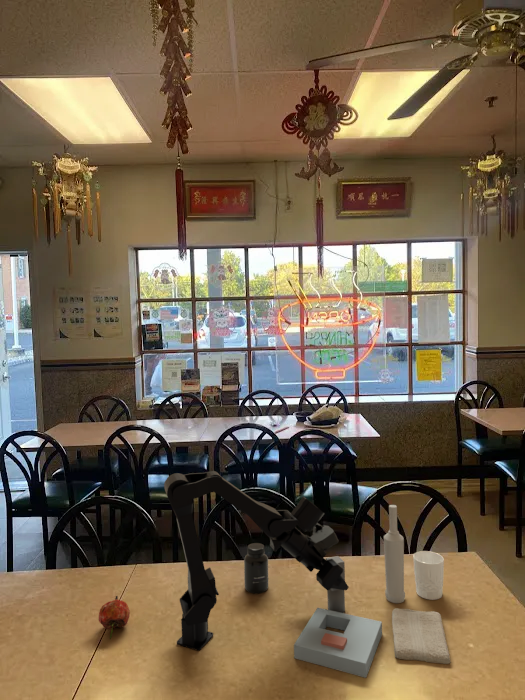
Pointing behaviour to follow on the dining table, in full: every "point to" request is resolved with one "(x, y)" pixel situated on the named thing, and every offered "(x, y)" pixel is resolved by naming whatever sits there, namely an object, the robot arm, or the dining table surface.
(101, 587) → the dining table surface
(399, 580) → the bottle
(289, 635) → the dining table surface
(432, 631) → the washcloth
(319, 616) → the socket plate
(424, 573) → the white cup
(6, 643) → the dining table surface
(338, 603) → the plug
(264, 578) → the supplement bottle
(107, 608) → the pomegranate
